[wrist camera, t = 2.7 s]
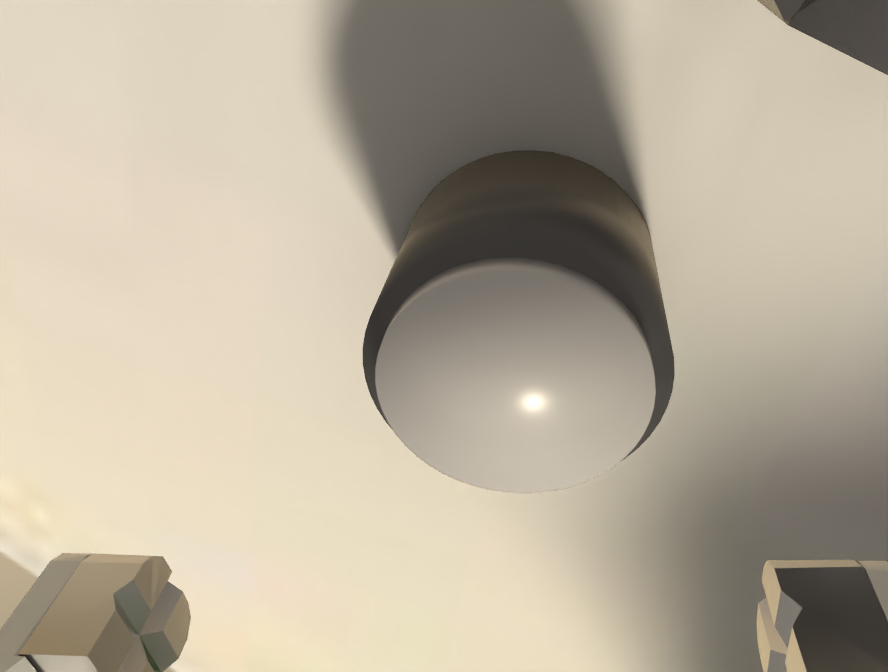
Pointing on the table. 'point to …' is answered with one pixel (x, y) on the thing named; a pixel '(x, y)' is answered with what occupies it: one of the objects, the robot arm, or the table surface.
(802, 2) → the grey ashtray
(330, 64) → the table surface
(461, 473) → the cap
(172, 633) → the robot arm
